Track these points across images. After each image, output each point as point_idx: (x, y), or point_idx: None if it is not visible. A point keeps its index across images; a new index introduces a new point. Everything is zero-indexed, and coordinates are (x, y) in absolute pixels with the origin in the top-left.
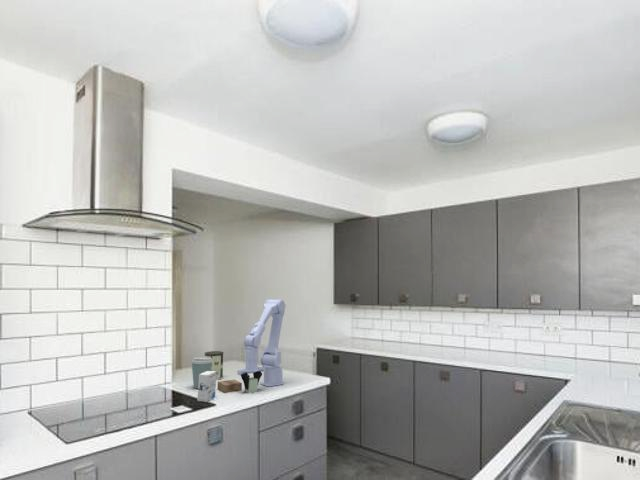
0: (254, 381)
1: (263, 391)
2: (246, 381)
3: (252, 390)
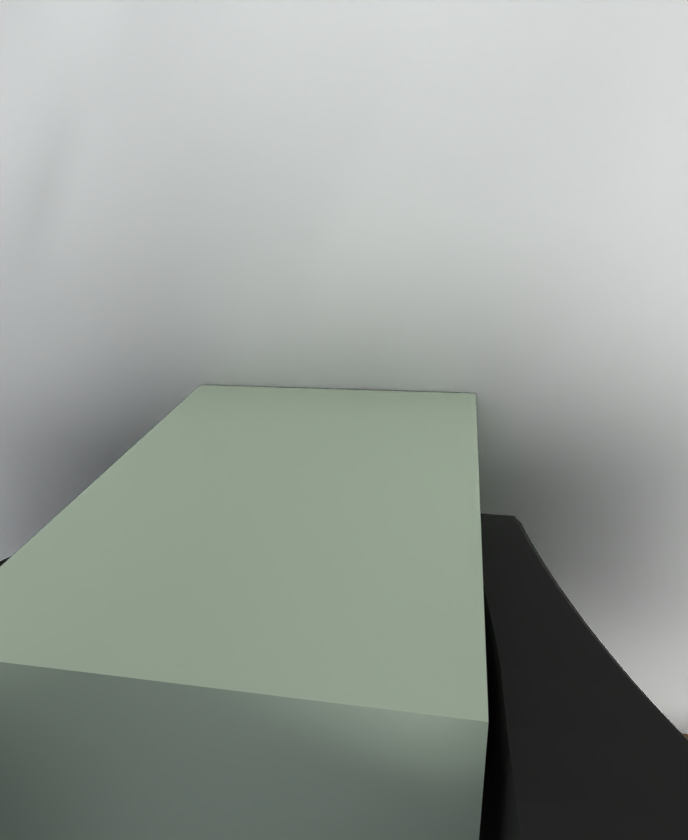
0: (174, 584)
1: (50, 282)
2: (678, 733)
3: (356, 412)
